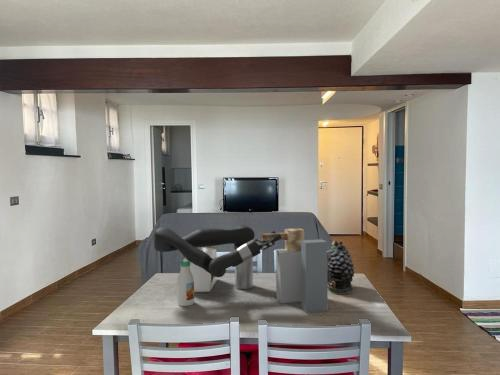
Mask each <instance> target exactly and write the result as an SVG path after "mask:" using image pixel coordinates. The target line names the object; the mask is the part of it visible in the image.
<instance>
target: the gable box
mask: <svg viewBox="0 0 500 375" xmlns="http://www.w3.org/2000/svg"><path fill="white" fill-rule="evenodd" d="M195 248H197V249H199V250H201V251H203V252H205V253H207V254H208V255H209V256H210V257H211V258H213V259H215V258H217V257H218V254H217V251H218V250H217V249H216V246H208V247H195ZM182 260H183V261H188V260H187V259H186V258H185V257H184V258H183V259H182ZM189 262H190V261H189ZM190 271H191V273H192V275H193V279H194V293H209V292H211V291H212V289H213V287H214V286H215V285H216V283H217V282H218V279H219V277H215V276H213V275H211V274H210V273H208V272H207V271H205V270H204V269H203V268H201V267H199V266H197V265H195V264H193V263H191V262H190Z"/></svg>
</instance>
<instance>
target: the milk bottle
mask: <svg viewBox="0 0 500 375" xmlns="http://www.w3.org/2000/svg"><path fill="white" fill-rule="evenodd" d="M179 264H180V265H179V266H180V272H179V274H178V275H177V276H178V277H177V282H176V283H177V304H178V306H180V307H189V306H192V305H194V303H195V292H194V279H193V275H192V273H191V271H190V262H189V261H184V260H183V261H181V262H180V263H179Z"/></svg>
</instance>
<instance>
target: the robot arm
mask: <svg viewBox="0 0 500 375" xmlns="http://www.w3.org/2000/svg"><path fill="white" fill-rule="evenodd" d="M270 233H276V231H274V230H273V231H271V232H270ZM279 239H281V235H280V234H278V235H276V236H275V237H273V238H270V239H269V238H267V239H264V240H263V239H262V235H261V236H258V237H257V238H255V232H254V229H252V228H251V227H250V226H247V225H246V224H240V225H238V226H236V227H235V228H234V229H233V228H232V229H224V228H223V229H222V228H212V227H211V228H199V229H196V230H194V231H192V232H190V233H188V234H187V235H185V236H180V235H179V234H177V233H176V232H175V231H174V230H172V229H170V228H169V227H163V226H162V227H159V228H157V229H156V230H155V232H154V238H153V240H154V241H153V243H154V244H153V246H154V250H156V252H160V253H167V252H169V253H170V252H174V251H178V252H180V254H182V256H183V257H184V258H186V259H187V260H188V261H190V262H191V263H193V264H195V265H197V266H199V267H201V268H203V269H204V270H205V271H207V272H208V273H210V274H211V275H213V276H215V277H218V278H222V277H223V276H225V275H226V272H227V269H228V268H231V267H233V268H235V269H234V273H235V274H234V276H235V280H234V281H235V283H234V284H235V288H236V290H238V289H240V290H249V289H252V288H253V287H254V270H253V269H254V267H253V266H254V265H253V264H254V262H253V259H254V257H256V256H258V255H260V254H261V253H262V252H261V249H262V250H263V251H264V250H267V249H269V248H271V247H272V246H275V244H276V242H277V241H280V240H279ZM229 244H231V245H233V248H234V249H233V250H232V251H230V252H228V253H225V254H222V255H220V256H217V258H215V259H213V258H211V257H210V256H209V255H208V254H207V253H205V252H203V251H201V250H199V249H197V248H195V247H208V246H214V247H216V246H223V245H229Z"/></svg>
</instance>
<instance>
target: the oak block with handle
mask: <svg viewBox="0 0 500 375" xmlns="http://www.w3.org/2000/svg"><path fill="white" fill-rule="evenodd" d="M278 234H280V235H281V239H279V240H278V241H284V249H285V250H287V251H288V252H296V251H301V240H305V230H304V229H302V228H297V227H296V228H284V232H275V233H271V232H269V233H261V236H262V239H263V240H264V239H267V238H269V239H270V238H273V237H275V236H276V235H278Z"/></svg>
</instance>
